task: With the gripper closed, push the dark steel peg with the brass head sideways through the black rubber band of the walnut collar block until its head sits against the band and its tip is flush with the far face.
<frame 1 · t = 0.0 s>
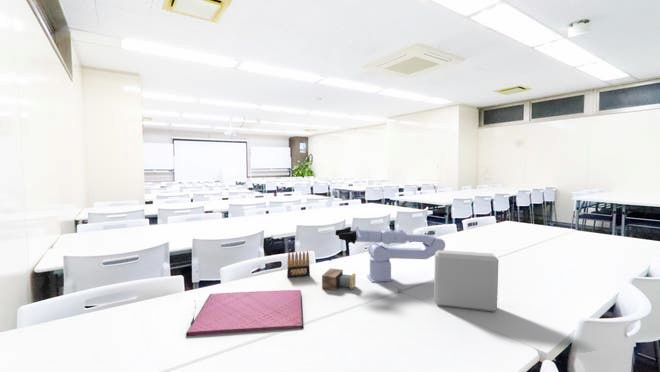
hand: (337, 234, 136), 22 cm above the table, tool horizontal, fingers open, 7 cm apart
bevelled white case: (463, 305, 113), on the table
collar block: (332, 285, 133), on the table
peg: (345, 280, 131), point 3 cm above the table, slide at 5.0 cm
ammunition clip: (298, 276, 145), on the table
laptop bag: (246, 314, 109), on the table
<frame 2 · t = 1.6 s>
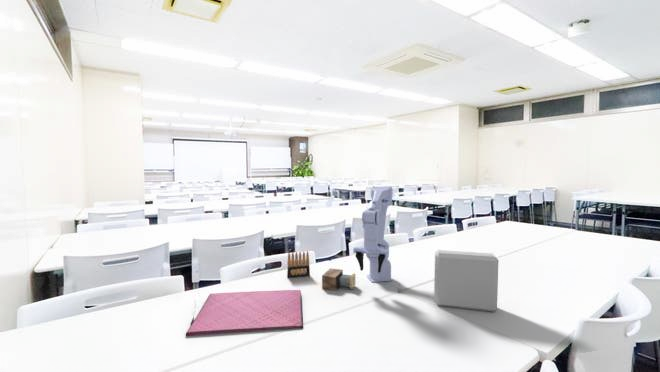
hand: (370, 270, 127), 8 cm above the table, tool pointing down, fingers open, 7 cm apart
nothing on the table moved.
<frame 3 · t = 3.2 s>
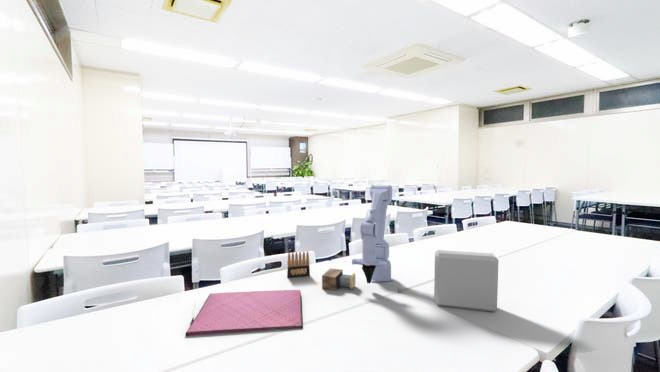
hand: (369, 282, 127), 3 cm above the table, tool pointing down, fingers closed
nothing on the table moved.
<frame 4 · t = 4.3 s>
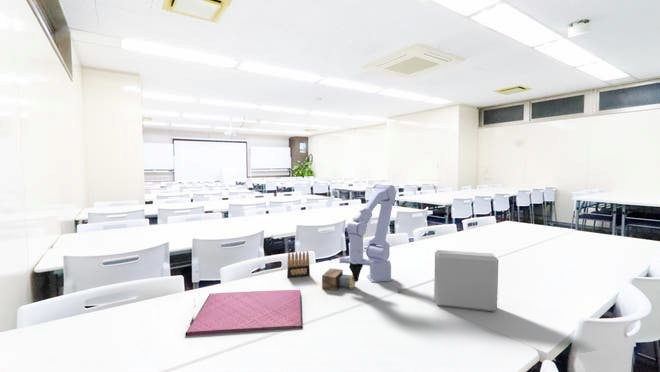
hand: (356, 280, 129), 3 cm above the table, tool pointing down, fingers closed
peg: (345, 280, 131), point 3 cm above the table, slide at 4.9 cm, touching gripper
everything else where it was.
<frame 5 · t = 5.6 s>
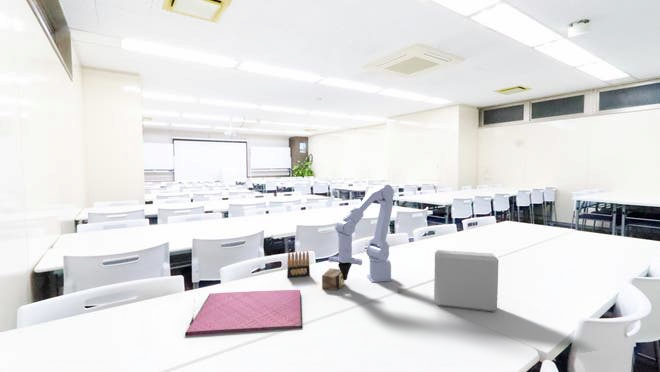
hand: (345, 279, 131), 3 cm above the table, tool pointing down, fingers closed
peg: (334, 278, 133), point 3 cm above the table, slide at 0.0 cm, touching gripper
everything else where it was.
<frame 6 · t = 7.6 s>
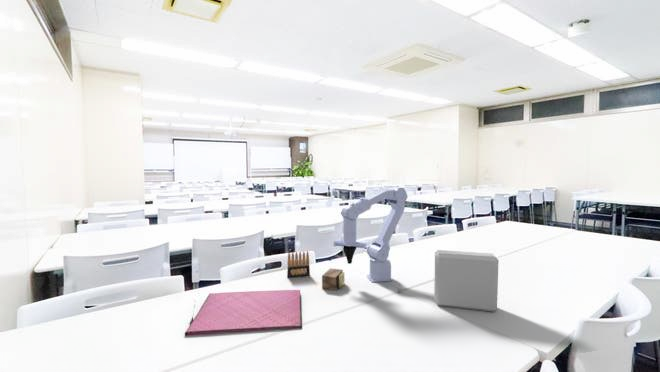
hand: (349, 262, 135), 9 cm above the table, tool pointing down, fingers closed
peg: (334, 278, 133), point 3 cm above the table, slide at 0.0 cm
everything else where it was.
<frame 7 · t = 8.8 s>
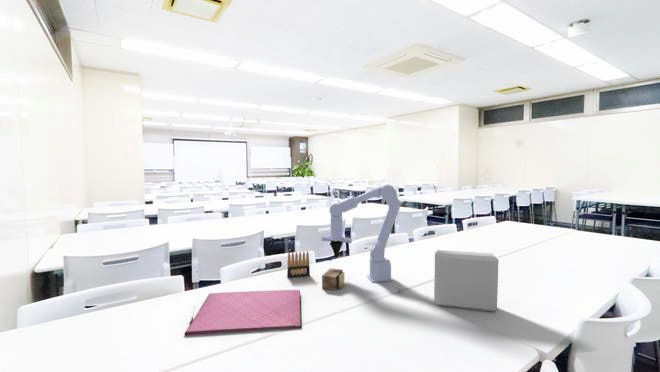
hand: (336, 256, 144), 9 cm above the table, tool pointing down, fingers closed
nothing on the table moved.
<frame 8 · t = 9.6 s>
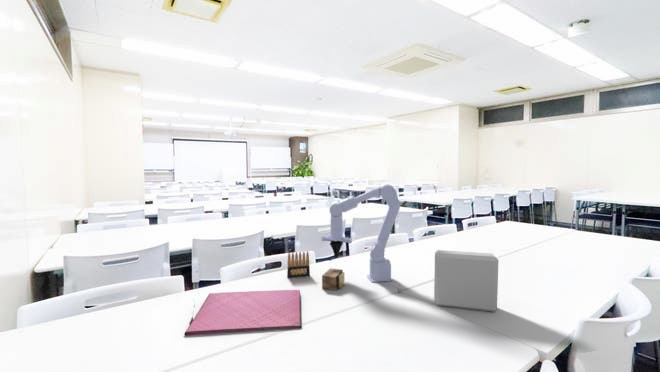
hand: (336, 256, 144), 9 cm above the table, tool pointing down, fingers closed
nothing on the table moved.
at the end: peg slide at 0.0 cm; the gripper is holding nothing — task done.
